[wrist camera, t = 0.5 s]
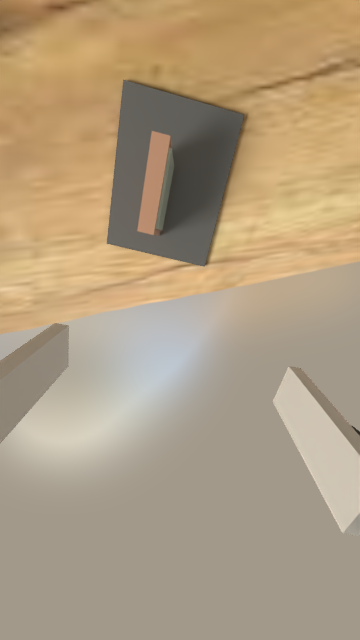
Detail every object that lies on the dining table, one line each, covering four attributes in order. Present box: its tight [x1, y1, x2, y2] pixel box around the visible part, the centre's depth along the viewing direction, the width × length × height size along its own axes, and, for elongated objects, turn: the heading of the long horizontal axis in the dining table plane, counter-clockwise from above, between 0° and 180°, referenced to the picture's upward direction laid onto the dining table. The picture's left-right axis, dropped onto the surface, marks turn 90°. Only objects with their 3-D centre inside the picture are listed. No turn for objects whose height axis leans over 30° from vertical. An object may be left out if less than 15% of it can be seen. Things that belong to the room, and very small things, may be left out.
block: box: [137, 131, 174, 236], centre depth 28 cm, size 10×2×8 cm, turn 167°
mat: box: [107, 80, 244, 267], centre depth 32 cm, size 20×16×1 cm
